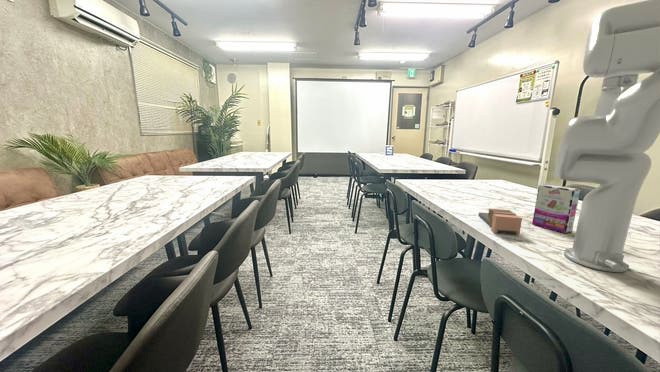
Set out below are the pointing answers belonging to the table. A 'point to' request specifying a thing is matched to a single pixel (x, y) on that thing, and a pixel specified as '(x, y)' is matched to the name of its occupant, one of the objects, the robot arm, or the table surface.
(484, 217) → the metal rail
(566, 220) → the candy bar box
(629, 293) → the table surface
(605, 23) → the robot arm
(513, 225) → the block
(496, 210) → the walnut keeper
